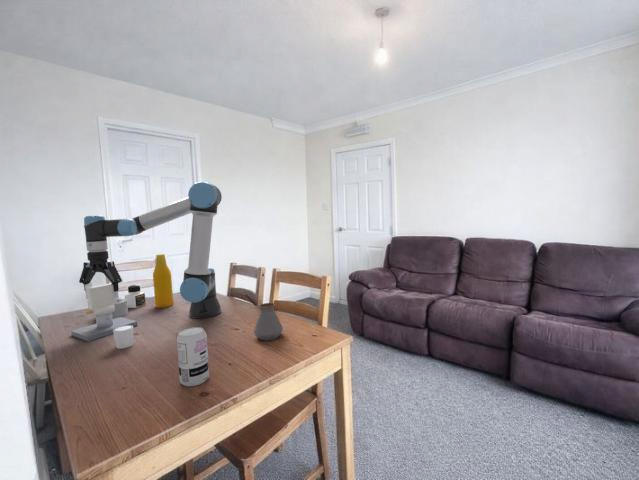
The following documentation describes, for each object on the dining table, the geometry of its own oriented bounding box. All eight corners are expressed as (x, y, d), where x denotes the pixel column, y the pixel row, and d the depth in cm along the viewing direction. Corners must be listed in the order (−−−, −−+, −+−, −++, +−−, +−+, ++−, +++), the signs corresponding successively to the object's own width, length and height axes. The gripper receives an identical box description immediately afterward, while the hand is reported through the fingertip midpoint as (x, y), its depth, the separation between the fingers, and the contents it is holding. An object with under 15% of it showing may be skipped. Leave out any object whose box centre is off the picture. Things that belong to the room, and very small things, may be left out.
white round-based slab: (111, 307, 147) (108, 282, 146) (120, 310, 142) (117, 284, 141) (82, 315, 137) (79, 288, 136) (91, 317, 132) (88, 289, 131)
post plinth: (137, 325, 145) (135, 308, 145) (87, 341, 128) (85, 322, 128) (120, 320, 153) (119, 304, 153) (71, 335, 136) (69, 317, 136)
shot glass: (139, 342, 125) (137, 325, 124) (123, 350, 118) (121, 332, 118) (126, 341, 127) (124, 324, 126) (110, 348, 121) (108, 330, 120)
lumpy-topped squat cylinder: (97, 316, 163) (95, 300, 162) (126, 310, 171) (125, 295, 170) (99, 321, 155) (97, 304, 154) (129, 315, 163) (128, 298, 162)
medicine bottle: (136, 308, 175) (134, 287, 174) (125, 307, 176) (123, 286, 175) (145, 304, 182) (144, 284, 181) (135, 304, 183) (133, 284, 182)
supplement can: (185, 374, 98) (181, 327, 97) (212, 372, 98) (209, 325, 97) (175, 388, 90) (171, 337, 88) (205, 386, 90) (201, 335, 89)
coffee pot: (289, 335, 126) (287, 298, 124) (265, 345, 118) (263, 305, 116) (258, 324, 141) (256, 291, 139) (235, 331, 132) (233, 296, 131)
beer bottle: (176, 302, 183) (172, 253, 180) (169, 307, 173) (164, 255, 171) (160, 303, 182) (156, 253, 180) (152, 308, 173) (147, 256, 171)
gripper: (66, 252, 137) (71, 300, 139) (114, 251, 132) (119, 301, 133) (82, 250, 144) (86, 295, 146) (128, 249, 139) (132, 296, 141)
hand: (102, 298), depth 140 cm, fingers open, 13 cm apart
